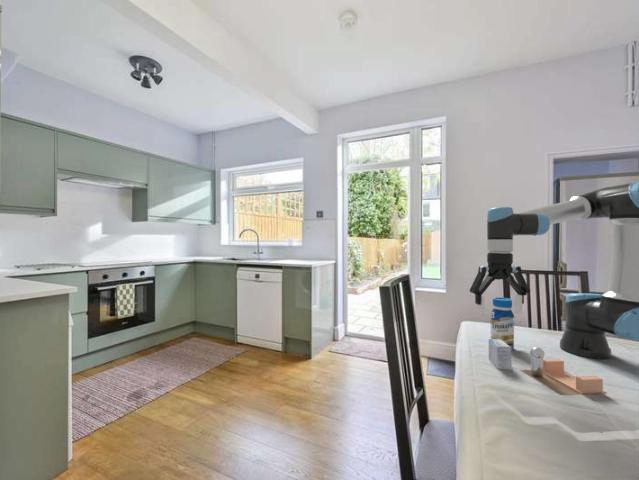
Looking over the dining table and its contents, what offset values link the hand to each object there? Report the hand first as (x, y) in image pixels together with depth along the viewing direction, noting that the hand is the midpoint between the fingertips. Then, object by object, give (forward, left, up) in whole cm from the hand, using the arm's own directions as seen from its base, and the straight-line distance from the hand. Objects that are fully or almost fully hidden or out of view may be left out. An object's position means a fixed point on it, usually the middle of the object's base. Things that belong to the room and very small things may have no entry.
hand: (499, 313), depth 100 cm
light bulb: (-6, +9, -17) cm, 21 cm away
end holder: (-13, +13, -17) cm, 25 cm away
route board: (-11, +12, -19) cm, 25 cm away
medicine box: (0, 0, -19) cm, 19 cm away
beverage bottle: (-14, -18, -19) cm, 30 cm away
